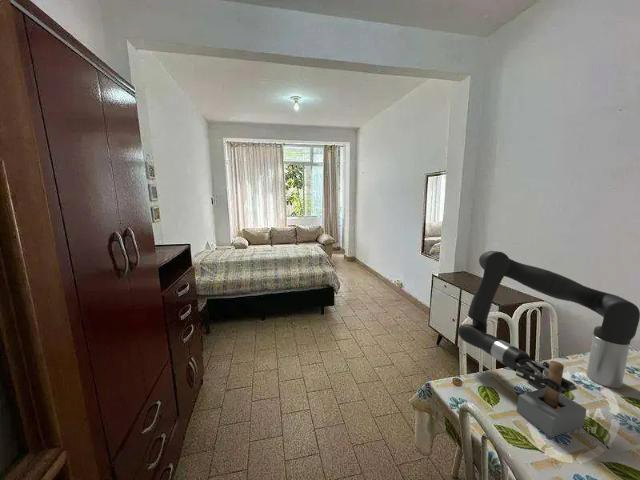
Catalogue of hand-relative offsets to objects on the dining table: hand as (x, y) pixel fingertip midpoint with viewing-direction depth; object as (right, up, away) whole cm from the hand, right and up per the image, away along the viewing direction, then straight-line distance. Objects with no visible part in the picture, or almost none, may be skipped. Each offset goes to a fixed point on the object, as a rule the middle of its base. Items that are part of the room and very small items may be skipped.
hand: (564, 388), depth 78 cm
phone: (+14, -11, +20) cm, 26 cm away
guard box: (-1, -12, +5) cm, 13 cm away
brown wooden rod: (-1, -7, +4) cm, 8 cm away
